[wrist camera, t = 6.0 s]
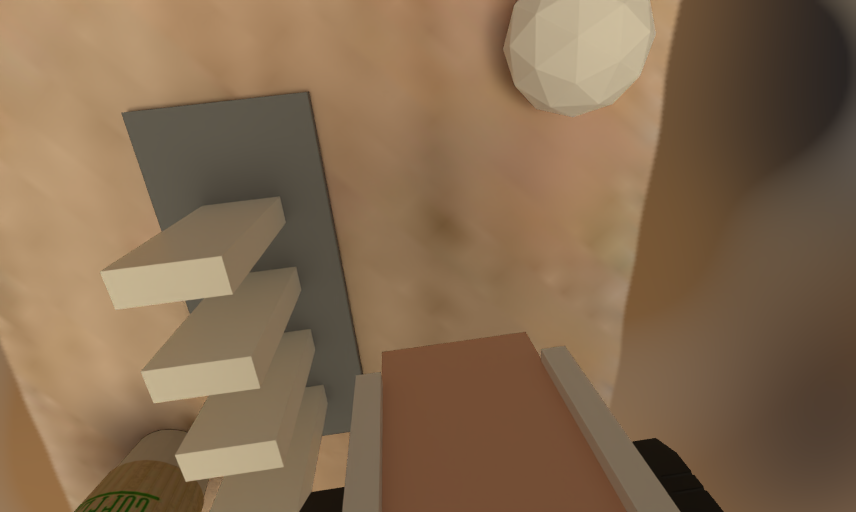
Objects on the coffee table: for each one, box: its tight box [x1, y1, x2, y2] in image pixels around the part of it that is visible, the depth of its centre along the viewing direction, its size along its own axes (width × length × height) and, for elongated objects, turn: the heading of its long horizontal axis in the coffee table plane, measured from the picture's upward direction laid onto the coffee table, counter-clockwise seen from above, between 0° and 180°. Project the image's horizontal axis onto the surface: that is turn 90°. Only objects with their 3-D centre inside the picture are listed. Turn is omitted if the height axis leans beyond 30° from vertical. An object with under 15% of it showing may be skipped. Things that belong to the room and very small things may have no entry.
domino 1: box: [100, 196, 286, 310], centre depth 24 cm, size 2×5×11 cm, turn 96°
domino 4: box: [210, 385, 328, 512], centre depth 29 cm, size 2×5×11 cm, turn 96°
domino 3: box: [175, 329, 315, 482], centre depth 28 cm, size 2×5×11 cm, turn 96°
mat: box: [122, 92, 363, 436], centre depth 32 cm, size 26×11×1 cm, turn 6°
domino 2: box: [141, 267, 301, 403], centre depth 26 cm, size 2×5×11 cm, turn 96°
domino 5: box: [382, 332, 627, 512], centre depth 10 cm, size 2×5×11 cm, turn 96°
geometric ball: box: [503, 0, 656, 117], centre depth 24 cm, size 8×8×8 cm
